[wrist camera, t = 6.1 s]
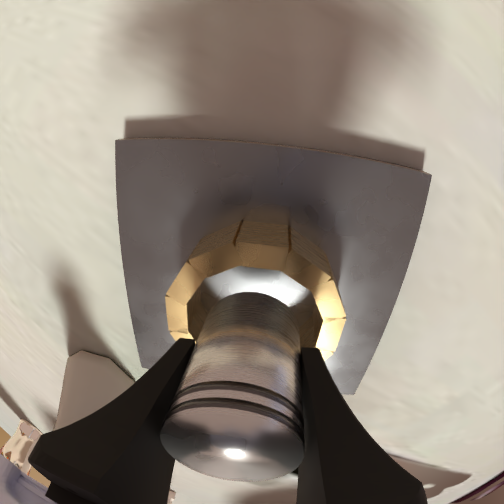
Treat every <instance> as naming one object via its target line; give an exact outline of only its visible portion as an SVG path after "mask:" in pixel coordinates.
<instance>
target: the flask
mask: <svg viewBox="0 0 504 504" xmlns="http://www.w3.org/2000/svg"><path fill="white" fill-rule="evenodd" d="M133 384H134V381H133V380H132V379H130V378H129V377H128V376H127V375H126V374H125V373H124V372H123V371H122V370H121V369H120V368H119V367H118V366H117V365H116V364H115V363H114V362H113V361H112V360H110V359H109V358H106V357H102V356H99V355H95V354H92V353H89V352H85V351H82V350H81V351H79V352H78V353H76V354H74V355H72V356H70V357H69V358H68V360H67V364H66V369H65V375H64V380H63V387H62V393H61V398H60V404H59V410H58V416H57V420H56V423H55V427H54V430H57V429H60V428H63V427H65V426H68V425H70V424H72V423H74V422H76V421H78V420H80V419H82V418H84V417H86V416H88V415H90V414H92V413H94V412H95V411H97V410H99V409H100V408H102V407H103V406H105V405H106V404H108V403H110V402H111V401H112V400H114V399H115V398H116V397H118V396H119V395H121V394H122V393H123V392H124V391H126V390H127V389H128V388H129V387H130V386H132V385H133ZM54 430H53V431H54Z"/></svg>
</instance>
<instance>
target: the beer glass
mask: <svg viewBox="0 0 504 504" xmlns="http://www.w3.org/2000/svg"><path fill="white" fill-rule="evenodd" d="M41 435H42V433H41V432H40V431H39V430H38V429H37V428H36V427H35V426H33V425H32V424H31V423H29V422H28V421H26V420H24V419H21V420H20V422H19V425H18V428H17V430H16V432H15V433H14V435H13V436H12V437H11V438H10V439H9V440H8V441H7V442H6V444H5V445H4V446H3V447H2V448H1V449H0V454H1V455H3V456H4V457H5V458H7V459H8V460H9V461H11V462H12V463H13V464H14V465H16V466H17V467H18V468H19V469H20V470H21V471H22V472H24V473H25V474H27V475H28V476H29V473H30V470H31V467H32V465H31V464H30V463H29V462H28V457H29V455H30V454H31V452H32V450H33V448H34V446H35V445H36V443H37V441H38V439H39V438H40V436H41Z"/></svg>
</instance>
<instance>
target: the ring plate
mask: <svg viewBox="0 0 504 504" xmlns="http://www.w3.org/2000/svg"><path fill="white" fill-rule="evenodd" d="M115 159H116V192H117V209H118V223H119V234H120V244H121V253H122V261H123V269H124V277H125V283H126V290H127V296H128V302H129V308H130V314H131V319H132V324H133V329H134V334H135V339H136V344H137V348H138V353H139V357H140V361H141V366H142V367H143V368H147V369H150V368H151V367H152V366H153V365H154V364H155V363H156V362H157V361H158V360H159V359H160V358H161V357H162V356H163V355H164V354H165V353H166V352H167V351H168V350H169V348H170V347H171V346H172V345H173V344H174V343H175V342H176V341H177V340H178V339H179V338H187V339H195V344H196V342H197V340H198V337H199V335H200V332H201V330H202V328H203V325H204V323H205V320H206V318H207V315H208V313H209V311H210V310H211V308H212V307H213V306H214V305H215V304H216V303H217V302H218V301H220V300H221V299H223V298H225V297H227V296H229V295H231V294H235V293H240V292H258V293H263V294H267V295H270V296H272V297H274V298H276V299H278V300H280V301H281V302H283V303H284V304H285V305H287V307H288V308H289V309H290V310H291V311H292V312H293V314H294V315H295V317H296V319H297V322H298V326H299V336H300V354H301V348H302V347H310V348H319V349H320V351H321V354H322V357H323V359H324V361H325V364H326V366H327V368H328V370H329V372H330V374H331V376H332V378H333V380H334V382H335V384H336V386H337V388H338V389H339V391H340V393H341V394H355V392H356V390H357V388H358V386H359V384H360V382H361V380H362V378H363V376H364V374H365V372H366V370H367V368H368V366H369V364H370V361H371V359H372V357H373V355H374V353H375V351H376V348H377V346H378V344H379V342H380V339H381V337H382V335H383V332H384V330H385V328H386V325H387V323H388V320H389V318H390V315H391V313H392V310H393V308H394V305H395V302H396V300H397V297H398V294H399V292H400V289H401V286H402V283H403V280H404V277H405V274H406V271H407V268H408V265H409V262H410V259H411V256H412V252H413V249H414V246H415V242H416V239H417V235H418V232H419V228H420V224H421V220H422V217H423V213H424V208H425V204H426V200H427V196H428V191H429V186H430V182H431V177H432V175H431V174H429V173H427V172H424V171H421V170H417V169H413V168H409V167H405V166H401V165H397V164H392V163H388V162H383V161H378V160H373V159H369V158H363V157H358V156H353V155H347V154H342V153H336V152H330V151H323V150H317V149H310V148H303V147H295V146H287V145H278V144H269V143H259V142H248V141H235V140H220V139H199V138H124V139H118V140H115Z"/></svg>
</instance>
